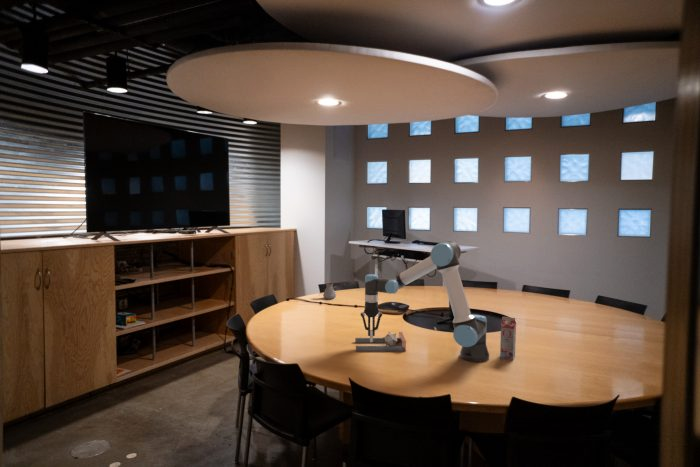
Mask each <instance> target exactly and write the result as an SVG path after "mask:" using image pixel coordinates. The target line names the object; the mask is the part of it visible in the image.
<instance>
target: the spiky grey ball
mask: <svg viewBox="0 0 700 467" xmlns="http://www.w3.org/2000/svg"><path fill="white" fill-rule="evenodd" d="M385 335H386V336H384V337H382V338H384V340H385V342H386V343H385V346H396V344H398V343H397V342H399V341H398V340H397V338H398V337H397V333H392V332H390V331H388V333H387V334H385Z"/></svg>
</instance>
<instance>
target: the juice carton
mask: <svg viewBox="0 0 700 467" xmlns="http://www.w3.org/2000/svg"><path fill="white" fill-rule="evenodd" d="M516 335H517V322H516V318H515V317H510V316H509V317H508V316H502V318H501V322H500V348H499V349H500V351H499V355H500V356H499V358H500V359H501V360H502V359H503V360H509V361H510V360H511V361H514V360H515V358H516V341H517V339H516V337H517V336H516Z"/></svg>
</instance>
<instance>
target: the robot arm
mask: <svg viewBox="0 0 700 467" xmlns="http://www.w3.org/2000/svg"><path fill="white" fill-rule="evenodd" d="M461 255H462V250H461V247H460V245H459V244H458V243H456V242H454V241H449V240H448V241H444V242H439V243H437V244H436V245H434V246H433V247H432V249H431V251H430V255H429V256H428V257H426V258H424V259H423V260H421V261H420V262H418V263H416V264H414V265H412V266H411V267H409V268H407V269H406V270H404V271H402V272H400V273H399V274H397V275H395V276H393V277H389V278H387V279H382V278H379V276H378V274H375V273H374V274H372V273H370V274H366V275H365V277H364V301H365V302H364V309H363V312H360V316H361V318H362V322H363V326H364V329H365V331H367V336H368V337H369V338H370V342H373V338H374V337H375V335H376V334H375V333H376V331H378V330H379V326H380V322H381V318H382V316H383V312H380V310H379V302H378V301H379V293H386V294H388V295H391V294H394V295H395V294H396V293H397V292H398V290H400V289H403V288H404V287H405V286H406V285H409V284H410V283H412V282H414V281H416V280H418V279H420V278H421V277H423V276H425V275H427V274H429V273H431V272H432V271H434V270H436V269H437V272H439V273H441V276H442V280H443V283H444V286H445V290H446V294H447V298H448V300H449V305H450V306H451V307H450V308H451V310H452V313H453V317H454V318H453V320H452V325H453V328H454V330H453V332H452V333H453V340H454V342H456V343H457V344H458V345H459V346H461V348H460V351H459V353H460V354H459V357H460V358H461V359H463V360H465V361H468V362H469V361H470V362H474V363H482V362H488V361H489V360H490V353H489V350H488V345H487V323H488V321H487V316H485V315H480V314H471V313H472V312H471V309H470V306H469V303H468V300H467V297H466V296H467V295H466V293H465V290H464V285H463V281H462V279H461V276H460V272H459V267H460V262H459V259H460V257H461ZM365 316H366V317H367V323H366V317H365ZM375 317H377V321H376V318H375ZM371 318H372V321H371ZM371 322H372V329H371ZM375 322H376V323H375Z"/></svg>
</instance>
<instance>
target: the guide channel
mask: <svg viewBox="0 0 700 467" xmlns="http://www.w3.org/2000/svg"><path fill="white" fill-rule="evenodd" d="M354 340H355V341H354V343H355V344H386V342H385V340H384V338H383V337H373V342H370V337H355V339H354ZM397 340H398V341H399V342H397V343H396V344H399V345H394V346H389V345H387V346H386V345H355V352H406V351H407V348H406V347H407V346H406V345H407V343H406V342H407V340H406V338H405V335H404V334H403V332H402V331H398V337H397Z"/></svg>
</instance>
